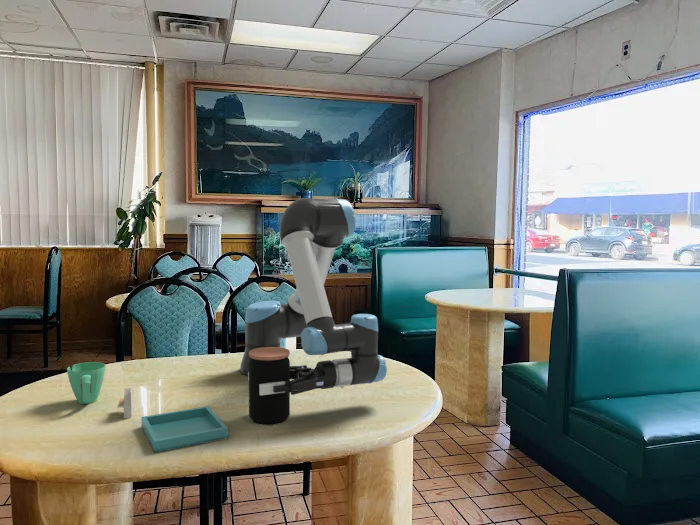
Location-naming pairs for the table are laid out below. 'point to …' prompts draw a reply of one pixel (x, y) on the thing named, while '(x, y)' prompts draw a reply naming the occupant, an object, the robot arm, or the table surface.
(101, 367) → the mug
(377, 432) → the table surface
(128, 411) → the architectural model
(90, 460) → the table surface
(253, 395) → the coffee jar
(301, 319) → the robot arm
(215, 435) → the tray
